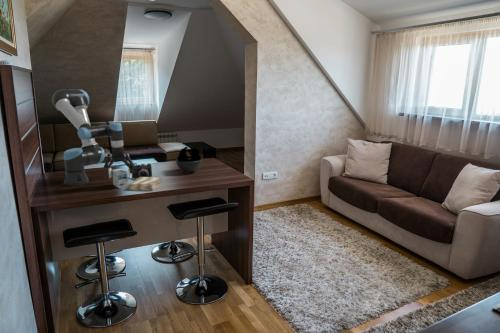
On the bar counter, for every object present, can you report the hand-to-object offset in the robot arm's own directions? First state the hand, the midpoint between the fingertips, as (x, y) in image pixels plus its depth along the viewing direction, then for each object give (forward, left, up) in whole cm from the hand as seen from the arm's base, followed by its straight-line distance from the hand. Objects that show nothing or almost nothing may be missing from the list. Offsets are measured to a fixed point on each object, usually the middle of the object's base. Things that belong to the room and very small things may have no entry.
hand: (120, 177), depth 227 cm
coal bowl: (+36, +42, -6) cm, 56 cm away
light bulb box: (0, 0, -6) cm, 6 cm away
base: (+17, +1, -6) cm, 18 cm away
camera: (+6, +21, -6) cm, 22 cm away
